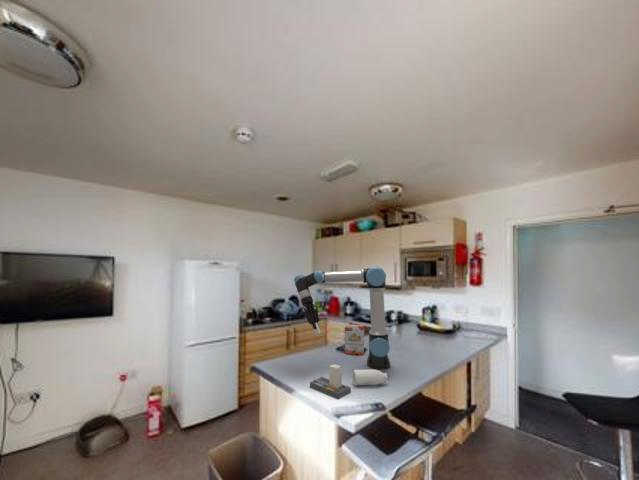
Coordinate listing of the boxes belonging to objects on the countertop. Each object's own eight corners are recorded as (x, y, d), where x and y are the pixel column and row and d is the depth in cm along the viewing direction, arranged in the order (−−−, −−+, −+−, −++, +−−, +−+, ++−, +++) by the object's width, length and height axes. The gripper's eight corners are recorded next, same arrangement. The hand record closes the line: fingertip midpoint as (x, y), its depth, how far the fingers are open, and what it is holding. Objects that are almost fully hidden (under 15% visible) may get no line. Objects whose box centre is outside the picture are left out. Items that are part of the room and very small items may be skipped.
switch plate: (309, 387, 148) (309, 380, 148) (322, 381, 155) (322, 375, 156) (338, 399, 134) (338, 391, 135) (350, 392, 142) (350, 385, 142)
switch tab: (329, 386, 143) (329, 366, 144) (334, 383, 145) (334, 364, 147) (336, 389, 139) (336, 368, 140) (341, 386, 142) (341, 366, 143)
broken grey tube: (389, 387, 147) (389, 372, 148) (354, 388, 147) (354, 372, 147) (385, 381, 155) (385, 366, 156) (352, 382, 154) (352, 367, 155)
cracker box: (345, 354, 204) (344, 325, 207) (345, 352, 210) (345, 324, 213) (364, 355, 202) (363, 326, 204) (364, 352, 208) (363, 324, 210)
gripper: (309, 300, 183) (321, 334, 173) (295, 300, 174) (307, 337, 163) (316, 295, 179) (329, 330, 169) (302, 295, 170) (315, 332, 159)
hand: (318, 333), depth 166 cm, fingers closed
